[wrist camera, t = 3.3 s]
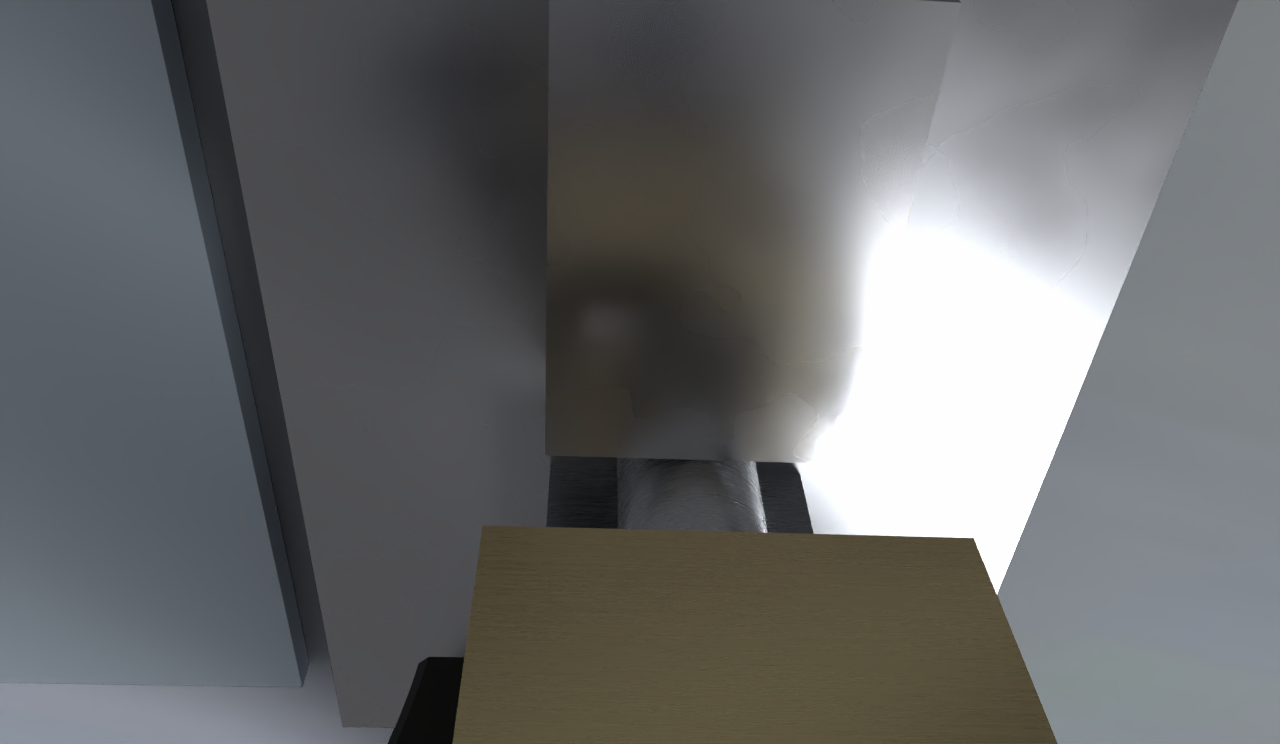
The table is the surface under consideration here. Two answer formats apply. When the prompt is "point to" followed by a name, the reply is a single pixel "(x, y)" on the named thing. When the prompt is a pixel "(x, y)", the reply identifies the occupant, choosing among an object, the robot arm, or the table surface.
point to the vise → (681, 268)
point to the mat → (124, 376)
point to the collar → (739, 641)
